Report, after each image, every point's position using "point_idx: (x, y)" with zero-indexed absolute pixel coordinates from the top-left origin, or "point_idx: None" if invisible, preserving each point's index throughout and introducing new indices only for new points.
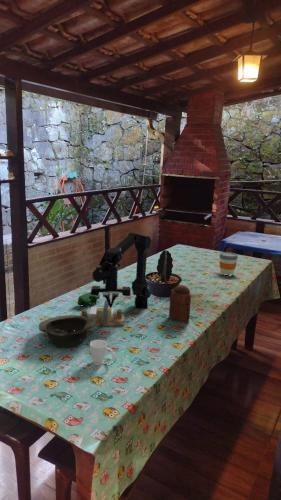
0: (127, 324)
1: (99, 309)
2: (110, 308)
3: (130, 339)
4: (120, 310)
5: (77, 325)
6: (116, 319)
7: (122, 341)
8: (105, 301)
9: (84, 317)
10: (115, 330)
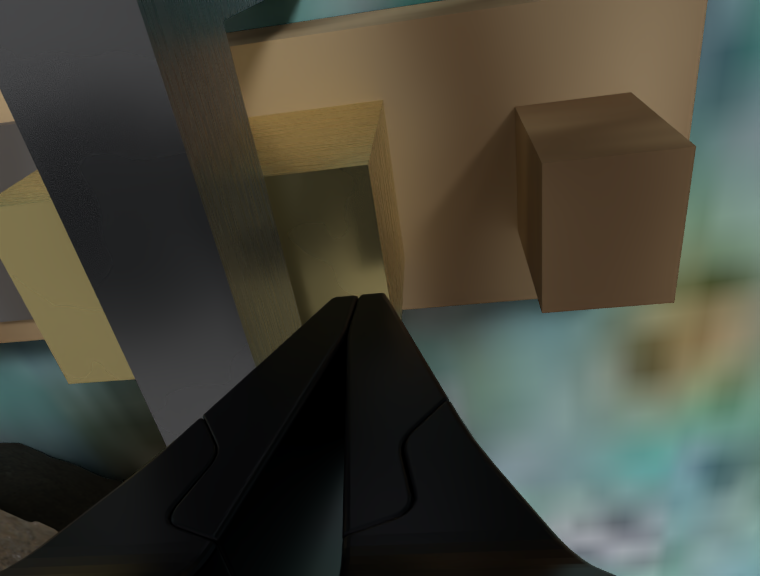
0: (706, 188)
1: (89, 299)
2: (345, 192)
3: (692, 534)
4: (645, 204)
5: (7, 471)
6: (516, 256)
7: (599, 567)
8: (60, 156)
9: (12, 542)
10: (507, 388)
